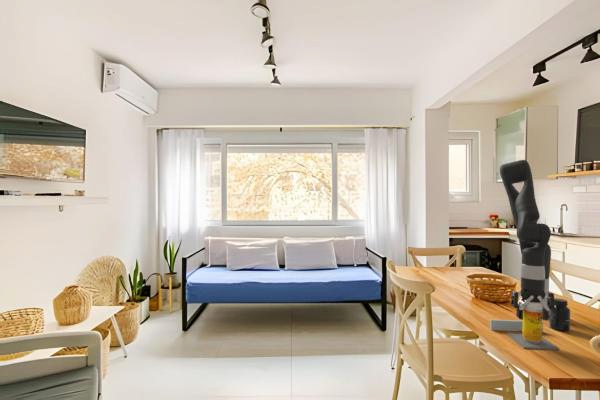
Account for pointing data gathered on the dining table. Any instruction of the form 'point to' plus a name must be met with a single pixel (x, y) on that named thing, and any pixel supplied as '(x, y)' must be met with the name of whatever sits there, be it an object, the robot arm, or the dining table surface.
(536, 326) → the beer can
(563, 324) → the supplement bottle
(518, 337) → the slate coaster
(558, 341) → the dining table surface
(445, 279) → the dining table surface
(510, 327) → the acrylic wall
